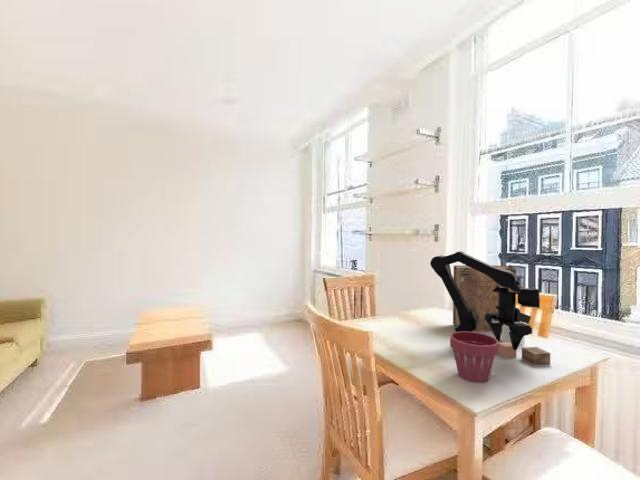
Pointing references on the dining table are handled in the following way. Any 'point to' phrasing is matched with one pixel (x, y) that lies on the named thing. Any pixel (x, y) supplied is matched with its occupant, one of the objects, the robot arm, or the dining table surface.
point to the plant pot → (474, 354)
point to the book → (477, 293)
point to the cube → (506, 350)
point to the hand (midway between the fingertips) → (506, 345)
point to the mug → (506, 334)
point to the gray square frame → (532, 364)
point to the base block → (536, 356)
